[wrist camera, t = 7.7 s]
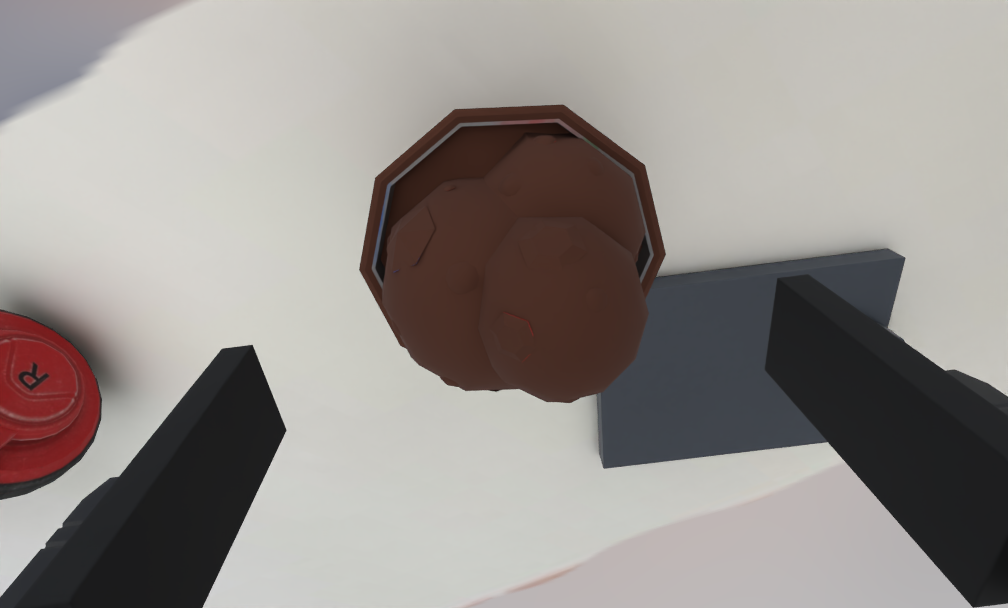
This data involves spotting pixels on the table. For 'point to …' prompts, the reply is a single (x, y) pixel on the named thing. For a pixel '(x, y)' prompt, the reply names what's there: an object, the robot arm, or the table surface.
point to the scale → (724, 361)
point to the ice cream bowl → (515, 252)
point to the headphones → (42, 405)
